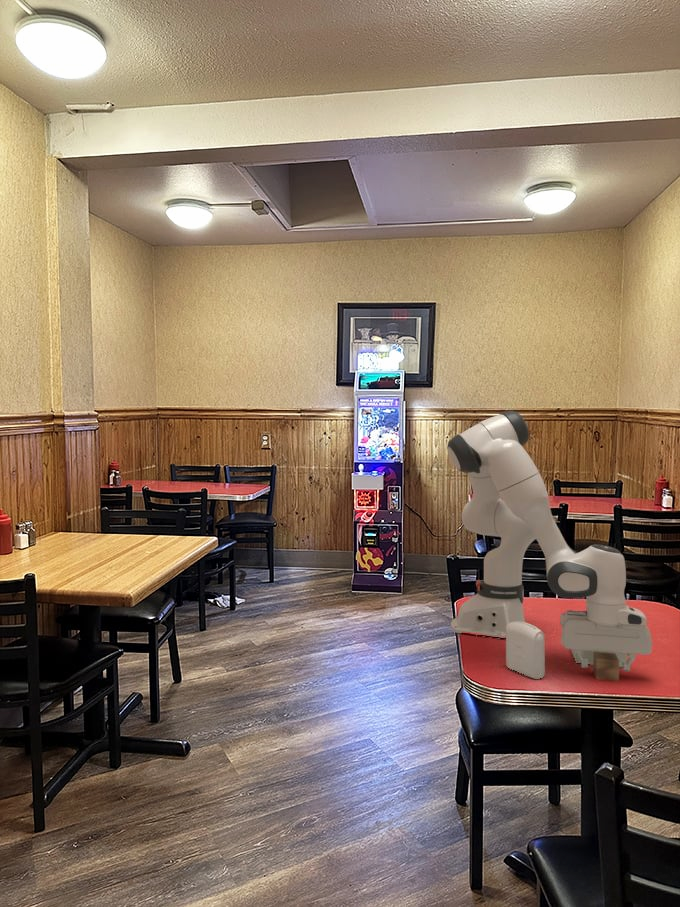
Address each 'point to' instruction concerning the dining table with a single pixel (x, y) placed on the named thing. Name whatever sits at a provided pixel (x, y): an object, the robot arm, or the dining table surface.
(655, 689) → the dining table surface
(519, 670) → the white slotted box
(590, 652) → the mint base block
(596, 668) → the walnut cube
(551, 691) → the dining table surface
